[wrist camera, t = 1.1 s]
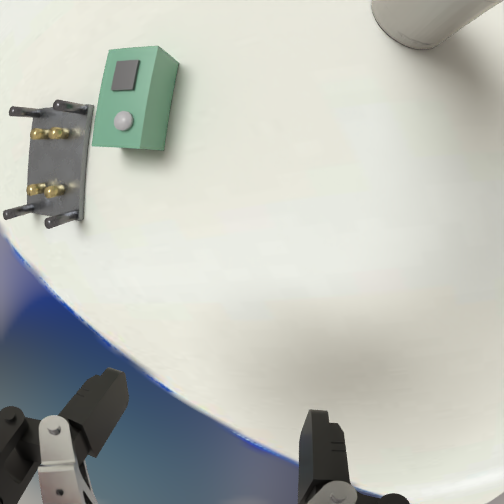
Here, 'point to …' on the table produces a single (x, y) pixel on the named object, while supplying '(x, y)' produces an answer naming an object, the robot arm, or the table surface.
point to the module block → (135, 98)
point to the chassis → (56, 162)
